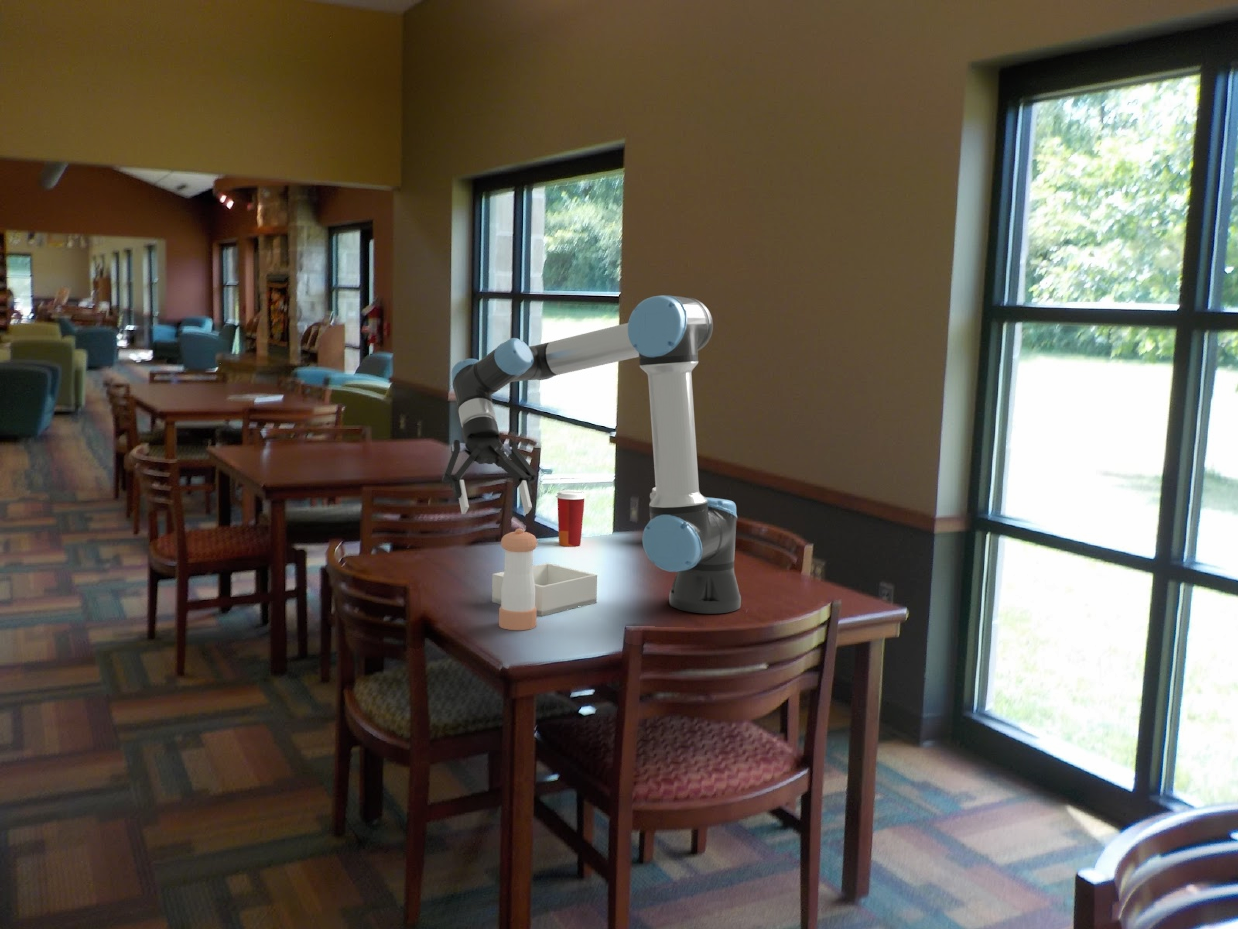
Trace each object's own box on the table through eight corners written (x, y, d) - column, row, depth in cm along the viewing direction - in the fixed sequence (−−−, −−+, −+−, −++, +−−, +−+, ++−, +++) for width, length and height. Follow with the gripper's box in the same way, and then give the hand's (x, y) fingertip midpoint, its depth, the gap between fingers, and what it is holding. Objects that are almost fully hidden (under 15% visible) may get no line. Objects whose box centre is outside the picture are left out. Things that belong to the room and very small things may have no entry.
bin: (596, 602, 239) (597, 575, 239) (541, 616, 228) (542, 587, 227) (546, 589, 249) (547, 562, 249) (492, 601, 238) (492, 574, 237)
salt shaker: (534, 631, 217) (536, 533, 214) (496, 629, 217) (498, 531, 215) (538, 621, 224) (540, 525, 222) (501, 619, 224) (503, 524, 222)
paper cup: (586, 542, 301) (587, 490, 299) (582, 548, 293) (583, 495, 292) (557, 540, 302) (558, 489, 300) (552, 546, 294) (553, 493, 292)
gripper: (527, 436, 250) (547, 519, 239) (417, 433, 238) (433, 520, 228) (539, 416, 244) (559, 501, 234) (426, 412, 233) (443, 500, 222)
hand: (497, 510), depth 231 cm, fingers open, 13 cm apart
